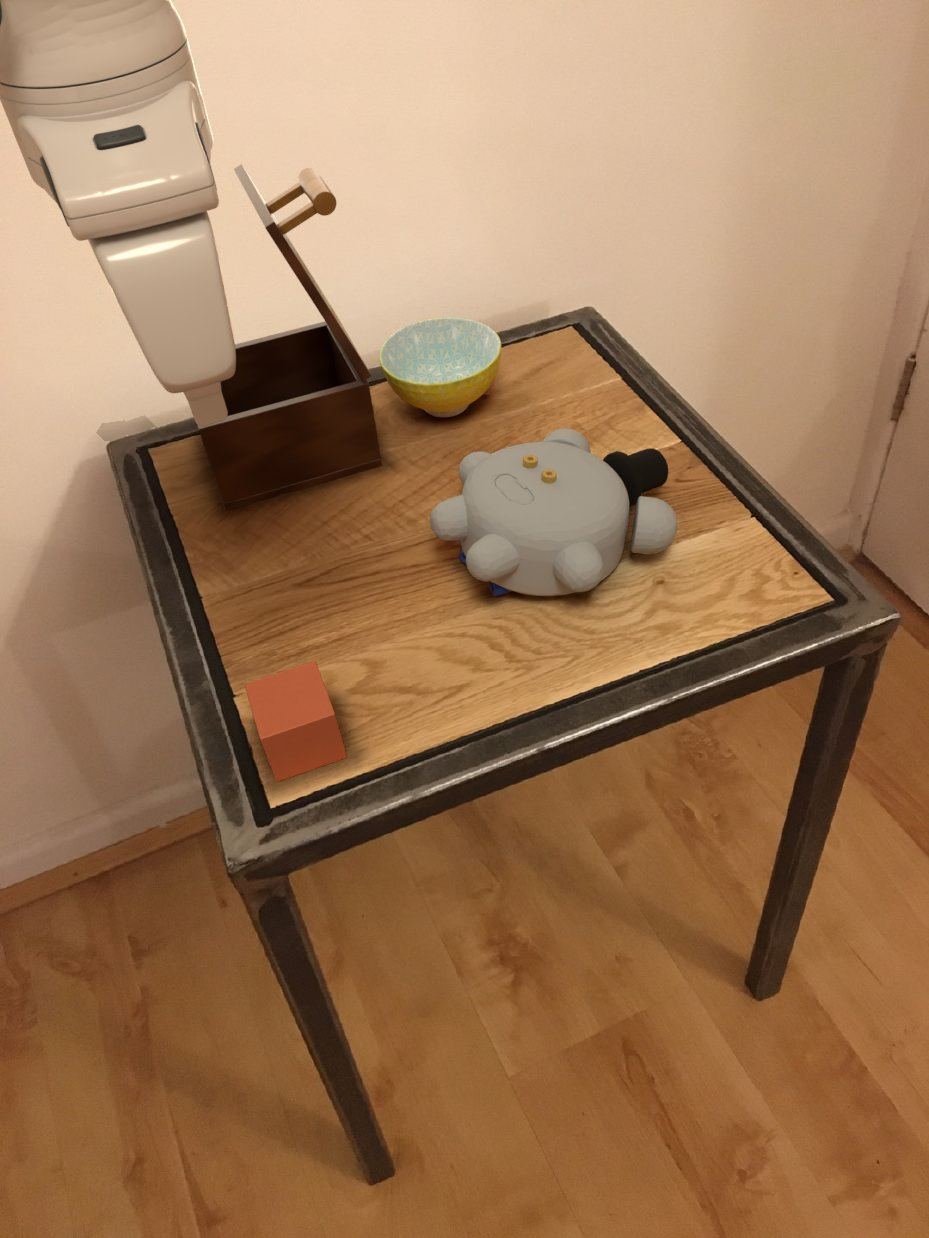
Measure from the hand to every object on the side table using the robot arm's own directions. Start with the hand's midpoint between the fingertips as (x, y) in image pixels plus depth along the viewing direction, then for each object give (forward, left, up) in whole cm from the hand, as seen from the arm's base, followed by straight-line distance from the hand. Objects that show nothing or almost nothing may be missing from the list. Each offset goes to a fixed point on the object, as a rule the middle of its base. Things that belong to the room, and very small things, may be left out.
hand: (195, 373), depth 55 cm
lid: (-12, +23, -8) cm, 27 cm away
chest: (-15, +19, -24) cm, 34 cm away
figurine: (+13, +20, -24) cm, 34 cm away
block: (+7, -6, -24) cm, 26 cm away
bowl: (-6, +32, -24) cm, 41 cm away
